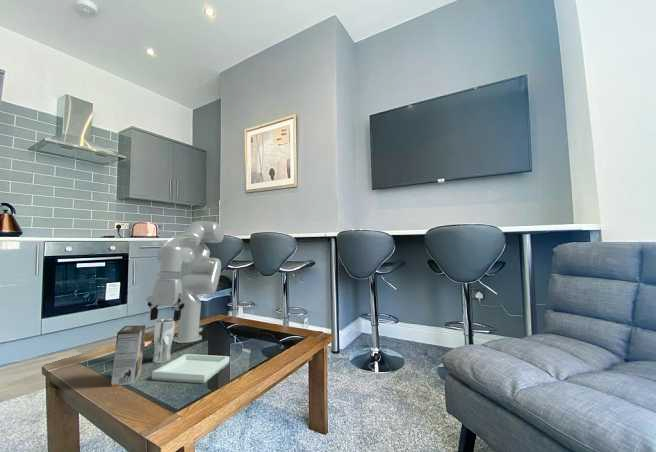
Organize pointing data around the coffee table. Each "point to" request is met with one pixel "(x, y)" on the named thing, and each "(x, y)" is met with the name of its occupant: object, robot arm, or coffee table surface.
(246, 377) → the coffee table surface
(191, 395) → the coffee table surface
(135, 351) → the coffee box
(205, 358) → the tray
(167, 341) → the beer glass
